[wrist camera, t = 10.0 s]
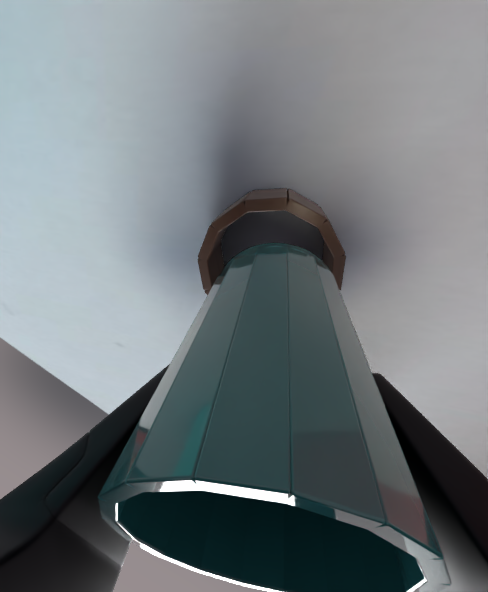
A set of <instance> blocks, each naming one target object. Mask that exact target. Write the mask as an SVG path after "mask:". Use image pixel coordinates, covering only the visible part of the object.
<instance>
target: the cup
mask: <svg viewBox="0 0 488 592" xmlns="http://www.w3.org/2000/svg"><path fill="white" fill-rule="evenodd" d="M98 502H99V509H100V516H101V518H102V519H103V520H104V521H105V522H107V523H108V524H109V525H110V526H111V527H112V528H113V529H114V530H115V531H116V532H117V533H119V534H120V535H121V536H122V537H124V538H125V539H127V540H128V541H130V542H132V543H134V544H136V545H138V546H140V547H141V548H143V549H145V550H147V551H148V552H150V553H152V554H154V555H157V556H158V557H161V558H163V559H166V560H168V561H171V562H173V563H176V564H178V565H181V566H183V567H186V568H189V569H191V570H193V571H196V572H199V573H202V574H206V575H209V576H212V577H216V578H219V579H222V580H226V581H229V582H232V583H235V584H240V585H243V586H247V587H252V588H256V589H261V590H265V591H269V592H440V591H441V590H443V589H445V588H446V587H448V586H450V585H451V584H452V581H451V577H450V574H449V571H448V568H447V565H446V561H445V558H444V555H443V553H442V550H441V548H440V545H439V542H438V540H437V537H436V535H435V532H434V530H433V527H432V525H431V522H430V520H429V517H428V515H427V512H426V509H425V507H424V504H423V502H422V499H421V497H420V494H419V492H418V489H417V487H416V484H415V481H414V479H413V476H412V474H411V471H410V469H409V466H408V464H407V461H406V459H405V456H404V453H403V451H402V448H401V446H400V443H399V441H398V438H397V436H396V433H395V431H394V428H393V425H392V423H391V420H390V418H389V415H388V413H387V410H386V408H385V405H384V403H383V400H382V397H381V395H380V392H379V390H378V387H377V385H376V382H375V380H374V377H373V375H372V372H371V369H370V367H369V364H368V362H367V359H366V357H365V354H364V352H363V349H362V347H361V344H360V341H359V339H358V336H357V334H356V331H355V329H354V326H353V324H352V321H351V319H350V316H349V313H348V311H347V308H346V306H345V303H344V301H343V298H342V296H341V293H340V291H339V288H338V286H337V283H336V280H335V278H334V275H333V274H332V273H331V271H330V270H329V268H328V267H327V265H326V264H325V263H324V262H323V261H322V260H321V259H320V258H318V257H317V256H316V255H314V254H313V253H311V252H309V251H308V250H305V249H303V248H301V247H298V246H295V245H291V244H285V243H267V244H261V245H257V246H253V247H251V248H248V249H246V250H244V251H242V252H240V253H239V254H238V255H236V256H235V257H233V258H232V259H231V260H230V261H229V262H228V263H227V265H226V266H225V267H224V269H223V271H222V272H221V273H220V274H219V275H218V277H217V279H216V281H215V283H214V285H213V286H212V288H211V290H210V292H209V294H208V296H207V297H206V299H205V301H204V303H203V305H202V307H201V308H200V310H199V312H198V314H197V316H196V318H195V319H194V321H193V323H192V325H191V327H190V329H189V330H188V332H187V334H186V336H185V338H184V340H183V341H182V343H181V345H180V347H179V349H178V351H177V352H176V354H175V356H174V358H173V360H172V361H171V363H170V365H169V367H168V369H167V371H166V372H165V374H164V376H163V378H162V380H161V382H160V383H159V385H158V387H157V389H156V391H155V393H154V394H153V396H152V398H151V400H150V402H149V404H148V405H147V407H146V409H145V411H144V413H143V415H142V416H141V418H140V420H139V422H138V424H137V426H136V427H135V429H134V431H133V433H132V435H131V437H130V438H129V440H128V442H127V444H126V446H125V448H124V449H123V451H122V453H121V455H120V457H119V459H118V460H117V462H116V464H115V466H114V468H113V470H112V471H111V473H110V475H109V477H108V479H107V481H106V482H105V484H104V486H103V488H102V490H101V492H100V493H99V495H98Z"/></svg>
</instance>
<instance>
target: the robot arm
mask: <svg viewBox="0 0 488 592" xmlns="http://www.w3.org/2000/svg"><path fill="white" fill-rule="evenodd" d="M169 365H170V364H169ZM169 365H168V366H167V367H166V368H164V369H163V370H162V371H161V372H160V373H158V374H157V375H156V376H155V377H154V378H152V379H151V380H150V381H149V382H148V383H146V384H145V385H144V386H143V387H142V388H140V389H139V390H138V391H137V392H136V393H134V394H133V395H132V396H131V397H130V398H128V399H127V400H126V401H125V402H124V403H122V404H121V405H120V406H119V407H118V408H116V409H115V410H114V411H113V412H112V413H110V414H109V415H108V416H107V417H106V418H104V419H103V420H102V421H101V422H100V423H99V424H97V425H96V426H95V427H94V428H93V429H91V430H90V432H88V433H86V434H85V435H84V436H83V437H82V438H80V439H79V440H78V441H77V442H76V443H75V444H73V445H72V446H71V447H69V448H68V449H67V450H66V451H64V452H63V453H62V454H61V455H59V456H58V457H57V458H55V459H54V460H53V461H52V462H50V463H49V464H48V465H46V466H45V467H44V468H42V469H41V470H40V471H38V472H37V473H36V474H34V475H33V476H32V477H30V478H29V479H27V480H26V481H25V482H23V483H22V484H21V485H19V486H18V487H17V488H16V489H14V490H13V491H11V492H10V493H9V494H7V495H6V496H4V497H3V498H2V499H0V592H113V589H114V587H115V584H116V581H117V579H118V576H119V573H120V571H121V566H122V565H123V562H124V560H125V557H126V554H127V552H128V549H129V546H130V544H131V542H130V541H128V540H127V539H125V538H124V537H122V536H121V535H120V534H119V533H117V532H116V531H115V530H114V529H113V528H112V527H111V526H110V525H109V524H108V523H107V522H105V521H104V520H103V519H102V518H101V516H100V509H99V502H98V495H99V493H100V492H101V490H102V488H103V486H104V484H105V482H106V481H107V479H108V477H109V475H110V473H111V471H112V470H113V468H114V466H115V464H116V462H117V460H118V459H119V457H120V455H121V453H122V451H123V449H124V448H125V446H126V444H127V442H128V440H129V438H130V437H131V435H132V433H133V431H134V429H135V427H136V426H137V424H138V422H139V420H140V418H141V416H142V415H143V413H144V411H145V409H146V407H147V405H148V404H149V402H150V400H151V398H152V396H153V394H154V393H155V391H156V389H157V387H158V385H159V383H160V382H161V380H162V378H163V376H164V374H165V372H166V371H167V369H168V367H169ZM372 375H373V377H374V380H375V382H376V385H377V387H378V390H379V392H380V395H381V397H382V400H383V403H384V405H385V408H386V410H387V413H388V415H389V418H390V420H391V423H392V425H393V428H394V431H395V433H396V436H397V438H398V441H399V443H400V446H401V448H402V451H403V453H404V456H405V459H406V461H407V464H408V466H409V469H410V471H411V474H412V476H413V479H414V481H415V484H416V487H417V489H418V492H419V494H420V497H421V499H422V502H423V504H424V507H425V509H426V512H427V515H428V517H429V520H430V522H431V525H432V527H433V530H434V532H435V535H436V537H437V540H438V542H439V545H440V548H441V550H442V553H443V555H444V558H445V561H446V565H447V568H448V571H449V574H450V577H451V581H452V584H451V585H450V586H448V587H446V588H445V589H443V590H441V591H440V592H488V479H487V478H486V477H485V476H484V475H483V474H482V473H481V472H480V471H479V470H478V469H477V468H476V467H475V466H474V465H473V464H472V463H471V462H470V461H469V460H468V459H467V458H466V457H465V456H464V455H463V454H462V453H461V452H460V451H459V450H458V449H457V448H456V447H455V446H454V445H453V444H452V443H451V442H450V441H449V440H447V439H446V438H445V437H444V436H443V435H442V434H441V433H440V432H439V431H438V430H437V429H436V428H435V427H434V426H433V425H432V424H431V423H430V422H429V421H428V420H427V419H426V418H425V417H424V416H423V415H422V414H421V413H420V412H419V411H418V410H417V409H416V408H415V407H414V406H413V405H412V404H411V403H410V402H409V401H408V400H407V399H406V398H405V397H404V396H403V395H402V394H401V393H400V392H399V391H398V390H396V389H395V388H394V387H393V386H392V385H391V384H390V383H389V382H388V381H387V380H386V379H385V378H384V377H383V376H382V375H381V374H378V373H372Z"/></svg>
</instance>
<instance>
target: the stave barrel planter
mask: <svg viewBox="0 0 488 592" xmlns="http://www.w3.org/2000/svg"><path fill="white" fill-rule="evenodd" d="M282 210H285V211H287V212H289V213H291V214H293V215H295V216H297V217H298V218H300V219H302V220H304V221H306V222H308V223H309V224H311V225H313V226H315V227H317V228H318V230H319V231H320V233H321V235H322V237H323V239H324V248H323V258H322V261H323V262H324V263H325V264H326V265H327V267H328V268H329V270H330V271H331V273H332V274H333V275H334V278H335V280H336V283H337V286H338V288H339V290H341V286H342V279H343V272H344V266H345V259H346V256H345V251H344V249H343V247H342V245H341V243H340V241H339V240H338V238H337V236H336V234H335V232H334V230H333V228H332V226H331V224H330V222H329V220H328V218H327V217H326V215H325V214H324V212H323V211H322V209H321V207H319V206H318V204H316V203H314V202H313V201H311V200H309V199H307V198H305V197H304V196H302V195H300V194H298V193H296V192H294V191H293V190H291V189H288V190H287V188H279V189H265V190H253V191H252V192H249V193H248V194H246V195H245V196H243V197H242V198H241V199H239V200H238V201H237V202H235V203H234V204H233V205H231V206H230V207H228V208H227V209H226V210H225V211H224V212H223V213H222V214H220V215H219V216H218V217H217V218H216V219H215V220H214V221H213V222H212V223H211V225H210V226H209V228H208V231H207V234H206V236H205V239H204V241H203V244H202V247H201V249H200V252H199V255H198V264H199V269H200V274H201V279H202V284H203V289H204V290H205V293H206V294H207V295H208V294H209V292H210V290H211V288H212V286H213V285H214V283H215V281H216V279H217V277H218V275H219V274H220V273H221V272H222V271H223V269H224V267H225V266H224V260H223V253H222V245H221V241H222V238H223V236H224V234H225V231H226V229H227V227H228V226H229V225H230V224H232V223H233V222H235V221H236V220H237V219H239V218H240V217H242V216H243V215H245V214H246V213H248V212H264V211H282Z"/></svg>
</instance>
